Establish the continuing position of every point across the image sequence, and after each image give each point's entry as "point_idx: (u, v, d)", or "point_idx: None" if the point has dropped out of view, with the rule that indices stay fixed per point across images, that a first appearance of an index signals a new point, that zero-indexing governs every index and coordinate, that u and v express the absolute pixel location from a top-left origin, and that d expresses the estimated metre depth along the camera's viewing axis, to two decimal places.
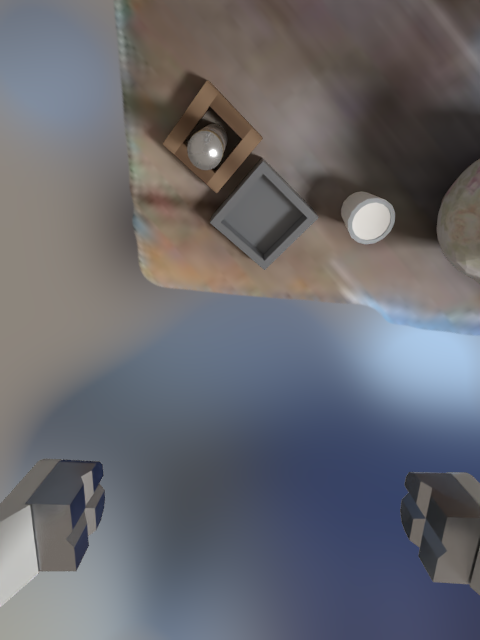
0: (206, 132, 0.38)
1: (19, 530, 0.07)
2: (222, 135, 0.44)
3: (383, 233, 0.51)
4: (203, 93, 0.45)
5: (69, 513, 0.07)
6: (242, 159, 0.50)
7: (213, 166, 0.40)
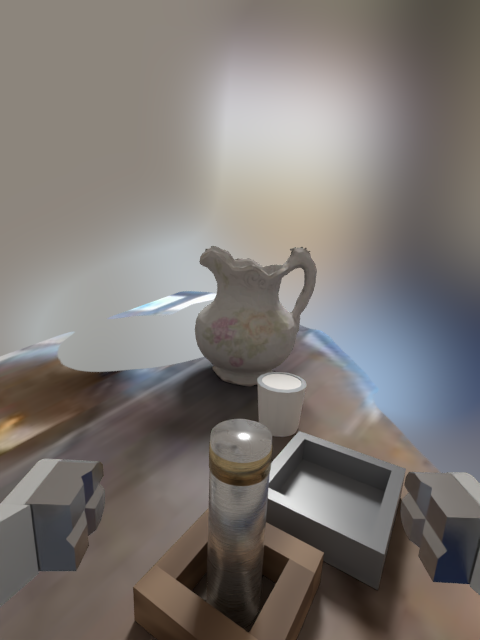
0: (212, 434, 0.22)
1: (19, 530, 0.07)
2: None
3: (288, 374, 0.50)
4: (155, 592, 0.23)
5: (69, 513, 0.07)
6: None
7: (262, 425, 0.24)
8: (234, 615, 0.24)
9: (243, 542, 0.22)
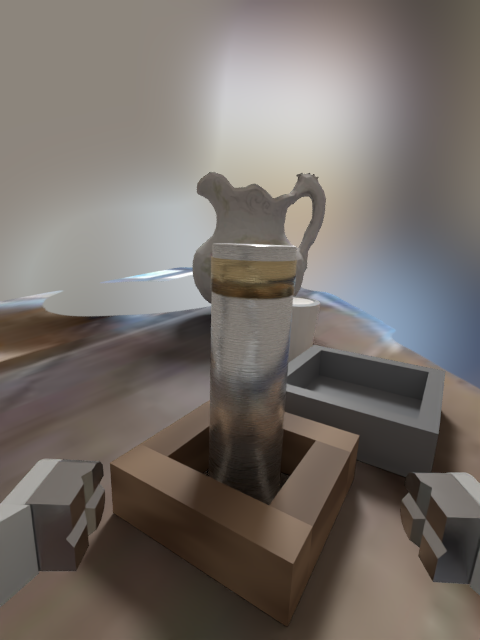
0: None
1: (19, 530, 0.07)
2: None
3: (298, 297, 0.44)
4: (139, 468, 0.17)
5: (69, 513, 0.07)
6: None
7: (281, 245, 0.18)
8: None
9: (258, 388, 0.16)
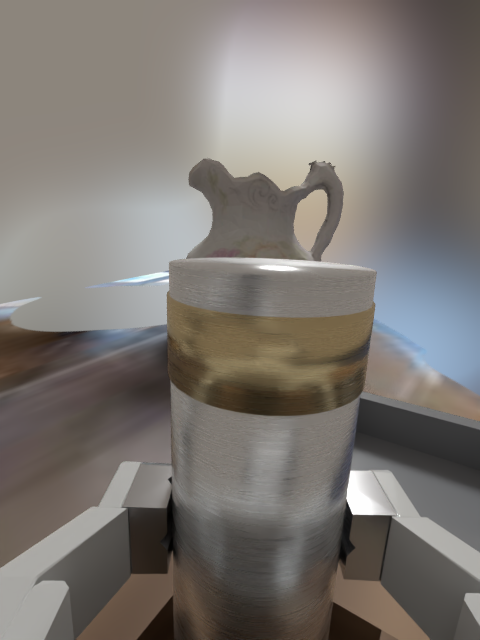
0: (175, 262, 0.07)
1: (118, 533, 0.07)
2: None
3: None
4: None
5: (165, 516, 0.07)
6: None
7: (326, 262, 0.08)
8: None
9: (279, 615, 0.07)
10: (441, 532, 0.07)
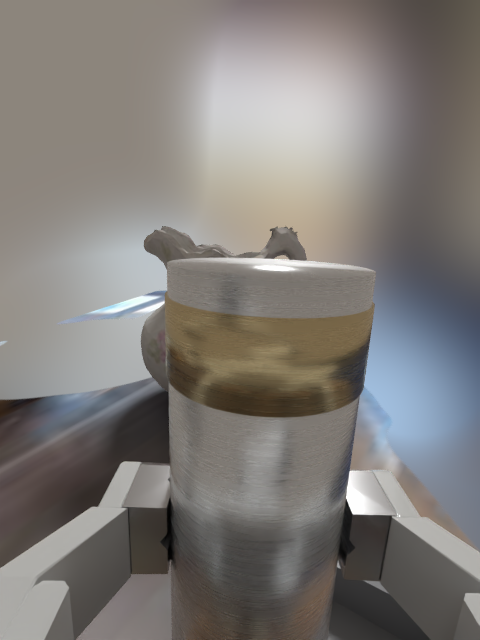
0: (173, 262, 0.07)
1: (118, 533, 0.07)
2: None
3: None
4: None
5: (165, 516, 0.07)
6: None
7: (325, 263, 0.08)
8: None
9: (278, 618, 0.07)
10: (441, 532, 0.07)
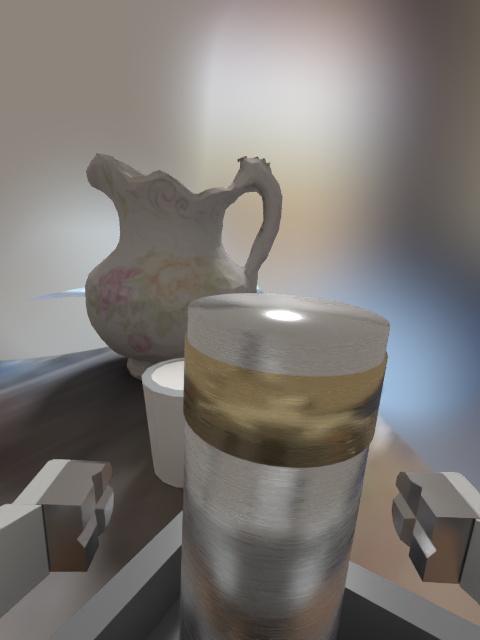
0: (193, 305, 0.07)
1: (30, 530, 0.07)
2: None
3: None
4: None
5: (80, 513, 0.07)
6: None
7: (338, 303, 0.08)
8: None
9: None
10: None
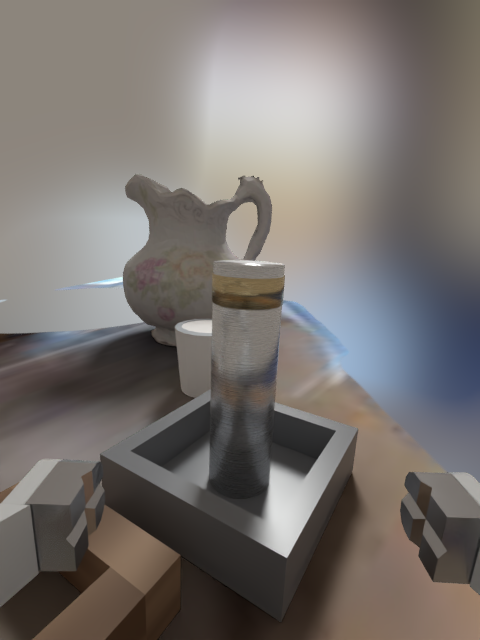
0: (215, 262, 0.19)
1: (19, 530, 0.07)
2: None
3: None
4: None
5: (69, 513, 0.07)
6: None
7: (272, 262, 0.21)
8: (241, 480, 0.21)
9: (251, 384, 0.19)
10: None
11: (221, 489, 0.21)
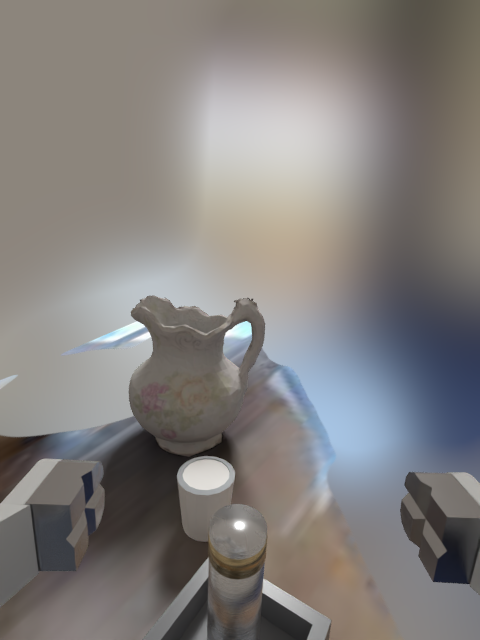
0: (210, 525, 0.24)
1: (19, 530, 0.07)
2: None
3: (218, 461, 0.43)
4: None
5: (69, 513, 0.07)
6: None
7: (257, 513, 0.25)
8: None
9: (240, 626, 0.24)
10: None
11: None
